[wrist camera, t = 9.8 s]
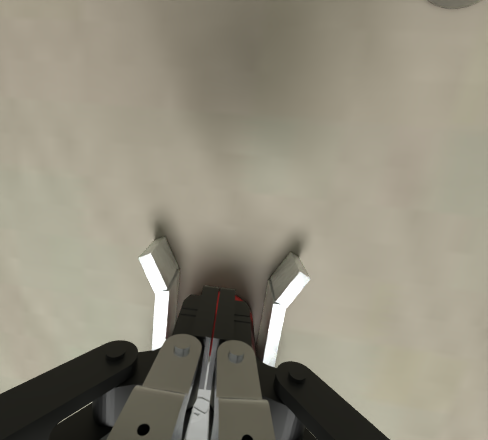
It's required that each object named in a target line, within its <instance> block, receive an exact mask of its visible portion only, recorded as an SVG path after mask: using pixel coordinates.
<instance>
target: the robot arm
mask: <svg viewBox="0 0 488 440" xmlns="http://www.w3.org/2000/svg"><path fill="white" fill-rule="evenodd" d="M428 1H430V2H431V3H433V4H434V5H437V6H440V7H443V8H450V9H458V8H463V7H468V6H471V5H473V4H475V3H477V2H479V1H481V0H428ZM218 292H219V287H212V286H204V287H203V291H202V295H201V296H198V295H190V296H189V297H187V298H186V299H185V300H184V302H183V305H182V308H181V310H180V313H179V316H178V319H177V322H176V324H175V327H174V330H173V333H172V336H171V337H169V338H168V339H166V340H165V342H164V343H163V345H162V347H161V348H158V349H156V350H152V351H145V352H138V349H137V347H136V346H135V345H134V344H133V343H131V342H128V341H121V340H119V341H112V342H109V343H106V344H104V345H102V346H100V347H98V348H95V349H93V350H91V351H89V352H87V353H85V354H83V355H81V356H79V357H77V358H75V359H73V360H70V361H68V362H66V363H64V364H62V365H60V366H58V367H56V368H54V369H52V370H50V371H48V372H45V373H43V374H41V375H39V376H37V377H35V378H33V379H31V380H29V381H27V382H25V383H23V384H20V385H18V386H16V387H14V388H12V389H10V390H8V391H6V392H4V393H2V394H0V440H186V437H187V433H188V429H189V426H190V422H191V418H192V414H193V410H194V404H195V402H196V400H197V395H198V390H199V389H203V390H204V386H205V380H206V373H207V367H208V360H209V353H210V347H211V340H212V334H213V327H214V320H215V313H216V306H217V299H218ZM206 390H211V395H210V403H209V409H208V427H207V440H390V439H388V438H387V437H386V436H385V435H384V434H383V433H382V432H381V431H379V430H378V429H377V428H376V427H375V426H374V425H373V424H371V423H370V422H369V421H368V420H367V419H366V418H365V417H363V416H362V415H361V414H360V413H359V412H358V411H357V410H355V409H354V408H353V407H352V406H351V405H350V404H349V403H348V402H346V401H345V400H344V399H343V398H342V397H341V396H340V395H338V394H337V393H336V392H335V391H334V390H333V389H332V388H330V387H329V386H328V385H327V384H326V383H325V382H324V381H322V380H321V379H320V378H319V377H318V376H317V375H316V374H314V373H313V372H312V371H311V370H310V369H309V368H307V367H306V366H304V365H303V364H300V363H298V362H292V361H288V362H284V363H281V364H280V365H279V366H278V368H275V367H272V366H269V365H267V364H265V363H263V362H262V361H260V360H259V359H258V358H257V357H256V356H255V352H254V350H253V349H252V341H251V319H250V308H249V306H248V305H247V303H246V302H245V301H237V300H235V289H228V288H220V294H219V301H218V308H217V315H216V322H215V329H214V335H213V342H212V349H211V357H210V364H209V371H208V378H207V385H206ZM91 402H92V403H91ZM89 403H91V404H89ZM87 404H89V405H88V406H86V405H87ZM84 406H86V407H85V408H83V407H84ZM81 408H83V409H81ZM79 409H81V410H80V411H78V410H79ZM76 411H78V412H77V413H75V414H73V413H74V412H76ZM71 414H73V415H72V416H70V415H71ZM68 416H70V417H68ZM66 417H68V418H67V419H65V418H66ZM63 419H65V420H64V421H62V420H63ZM60 421H62V422H60ZM59 422H60V423H59ZM58 423H59V424H58ZM311 433H312V434H313V435H314V436H315V437H316V438H315V437H314V436H313V435H312V434H311Z"/></svg>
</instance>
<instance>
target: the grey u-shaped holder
mask: <svg viewBox="0 0 488 440" xmlns="http://www.w3.org/2000/svg"><path fill="white" fill-rule="evenodd" d="M138 259H139V261H140V263H141V265H142V267H143V269H144V271H145V273H146V276H147V278H148V280H149V282H150V284H151V286H152V288H153V290H154V292H155V293H156V294H155V309H154V325H153V340H152V350H156V349H158V348H161V347H162V345H163V343H164V342H165V340H166V339H168V338H169V337H171V336H172V333H173V330H174V327H175V322H176V311H177V299H178V288H179V276H180V269H178V264H177V262H176V259H175V257H174V255H173V253H172V250H171V248H170V246H169V244H168V241H167V239H166V237H165V236H164V237H161V238H158V239H155V240H154V241H153V242H152V243H151V244H150V245H149V247H148V248H147V249H146V250H145V251H144V252H143V253H142V254H141V255H140V257H139V258H138ZM270 278H271V280H270V279H268V283H267V289H266V295H265V301H264V307H263V312H262V318H261V324H260V330H259V335H258V341H257V347H256V357H257V358H258V359H259V360H260V361H262V362H263V363H265V364H267V365H269V366H272V367H274V366H275V361H276V356H277V351H278V345H279V340H280V335H281V330H282V325H283V320H284V315H285V310H286V308H287V307H288V306H289V304H290V303H291V302H292V301H293V300H294V298H295V297H296V296H297V295H298V293H299V292H300V291H301V290H302V289H303V287H304V286H305V285H306V284H307V282H308V281H309V280H310V277H309V275H308V273H307V271H306V269H305V267H304V266H303V264H302V262H301V260H300V258H299V257H298V256H296V255H295V254H293V253H292V252H290V253H289V254H288V255H287V257H286V258H285V259H284V260H283V262H282V263H281V264H280V266H279V267H278V268H277V269H276V271H275V272H274V273H273V275H272V276H271V277H270Z"/></svg>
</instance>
